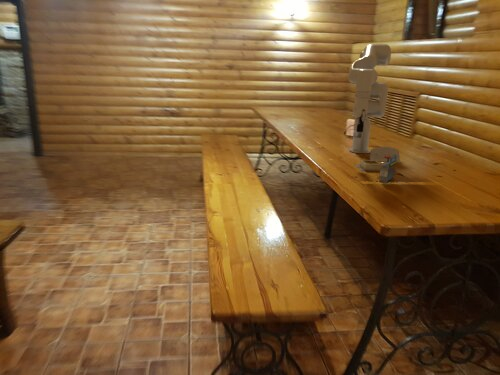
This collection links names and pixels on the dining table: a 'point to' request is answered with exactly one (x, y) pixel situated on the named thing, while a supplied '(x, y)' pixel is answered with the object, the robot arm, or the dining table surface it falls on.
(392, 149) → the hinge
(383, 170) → the label tape box
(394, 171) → the base board
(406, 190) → the dining table surface
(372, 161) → the square socket board
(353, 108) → the robot arm
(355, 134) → the beige cylindrical canister
